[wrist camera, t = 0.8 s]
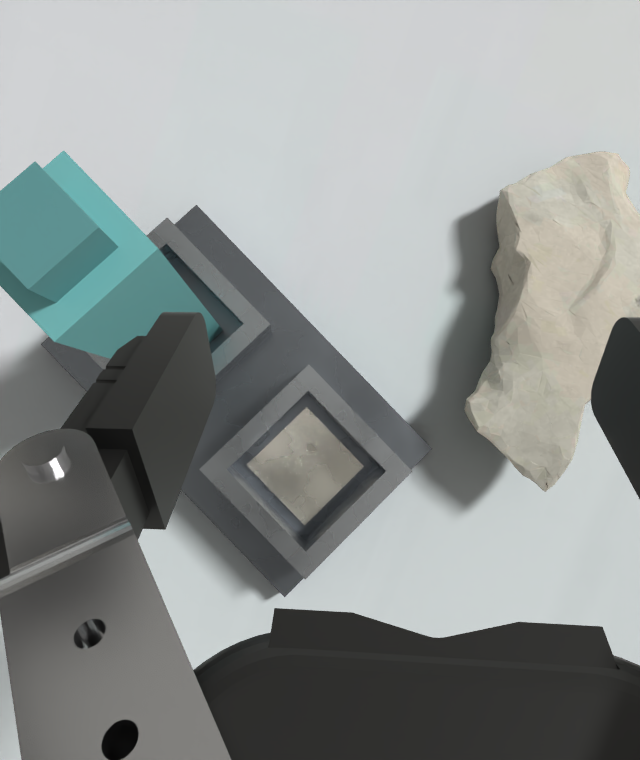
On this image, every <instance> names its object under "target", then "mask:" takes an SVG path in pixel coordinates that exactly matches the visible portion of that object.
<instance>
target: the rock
mask: <svg viewBox="0 0 640 760" xmlns="http://www.w3.org/2000/svg"><path fill="white" fill-rule="evenodd" d="M629 176H630V170H629V167H628V166H627V165H626V164H625V163H624V162H623V161H622V160H621V158H620V156H619V154H617V153H610V152H594V153H588V154H582V155H577V156H571V157H567V158H565V159H563V160H561V161H559V162H558V163H556V164H555V165H553V166H552V167H550V168H547V169H544V170H541V171H538V172H535V173H533V174H530V175H528V176H527V177H525V178H524V179H522V180H520V181H519V182H517V183H515V184H511V185H508V186H506V187H505V188H503V189H502V190H500V195H499V201H498V206H497V212H496V223H497V233H498V240H499V248H498V250H497V252H496V254H495V256H494V258H493V261H492V265H491V270H492V272H493V274H494V276H495V278H496V281H497V286H498V290H499V301H498V308H497V312H496V315H495V329H494V333H493V335H492V337H491V351H492V352H491V359H490V362H489V363H488V365H487V366H486V368H485V369H484V371H483V372H482V374H481V377H480V379H479V382H478V384H477V387H476V389H475V391H474V392H473V393H472V394H471V395H470V396H469V397H468V398H467V399H466V404H465V413H466V415H467V417H468V419H469V420H470V422H471V423H472V425H473V426H474V428H475V429H476V431H477V432H478V433H480V434H481V435H483V436H484V437H485V438H487V439H488V440H489V441H490V442H491V443H492V444H493V445H494V446H495V447H496V448H497V449H499V450H500V451H501V452H502V453H503V454H504V455H505V456H506V457H507V458H508V459H509V460H510V461H511V462H512V464H513V465H514V467H515V468H516V469H517V470H518V471H519V472H520V473H521V474H522V475H523V476H525V477H527V478H529V479H531V480H532V481H533V482H535V483H536V484H537V485H538V486H539V487H540V488H541V489H542V490H543V491H545V492H546V491H547V490H548V489H549V488H551V487H552V486H553V485H554V484H555V483H556V482H557V480H558V479H559V478H560V477H561V475H562V474H563V473H564V471H565V470H566V468H567V467H568V465H569V463H570V462H571V461H572V458H573V455H574V452H575V448H576V445H577V442H578V437H579V431H580V426H581V420H582V416H583V411H584V406H585V404H586V403H588V402H589V401H590V400H591V389H592V385H593V381H594V378H595V376H596V373H597V370H598V367H599V364H600V361H601V358H602V356H603V353H604V350H605V347H606V344H607V341H608V339H609V336H610V333H611V330H612V328H613V326H614V324H615V323H616V321H617V320H618V319H620V318H622V317H640V214H639V213H638V212H637V211H636V209H635V208H634V206H633V204H632V203H631V201H630V199H629V198H628V196H627V195H626V189H627V186H628V181H629ZM583 298H584V299H583Z"/></svg>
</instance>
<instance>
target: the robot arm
mask: <svg viewBox="0 0 640 760" xmlns="http://www.w3.org/2000/svg"><path fill="white" fill-rule="evenodd" d="M215 394H216V377H215V371H214V366H213V360H212V355H211V350H210V344H209V339H208V334H207V328H206V323H205V320H204V317H203V315H202V314H201V313H200V312H163V313H161V314H160V316H159V317H158V319H157V320H156V322H155V323H154V325H153V326H152V328H151V329H150V331H149V332H148V334H147V335H146V336H136V337H135V338H133V339H132V340H131V341H129V342H128V343H126V344H125V345H123V346H122V347H120V348H119V349H118V350H117V351H116V352H115V354H114V355H113V356H112V358H111V359H110V361H109V362H108V363H107V365H106V369H103V370H102V372H101V373H100V375H99V376H98V377H97V379H96V383H93V384H92V386H91V387H90V388H89V390H88V391H87V393H86V394H85V395H84V397H83V398H82V400H81V401H80V402H79V404H78V405H77V407H76V408H75V409H74V411H73V412H72V413H71V415H70V416H69V418H68V419H67V420H66V422H65V423H64V425H63V426H62V427H61V429H56V430H51V431H46V432H43V433H40V434H37V435H35V436H32V437H30V438H28V439H26V440H24V441H22V442H21V443H19V444H18V445H16V446H15V447H13V448H12V449H11V450H10V451H8V452H7V453H6V454H5V455H4V456H3V458H2V459H1V460H0V614H1V621H2V628H3V635H4V642H5V649H6V656H7V662H8V669H9V676H10V683H11V690H12V697H13V704H14V711H15V717H16V724H17V731H18V738H19V745H20V752H21V759H22V760H640V666H639V665H637V664H635V663H632V662H630V661H627V660H625V659H623V658H620V657H617V656H614V655H613V654H612V651H611V649H610V646H609V643H608V641H607V638H606V635H605V633H604V630H603V627H599V626H581V625H563V624H545V623H527V622H516V623H512V624H507V625H502V626H497V627H493V628H488V629H483V630H478V631H473V632H469V633H464V634H459V635H454V636H450V637H444V638H433V637H428V636H425V635H422V634H418V633H415V632H412V631H409V630H406V629H402V628H399V627H396V626H393V625H390V624H387V623H383V622H380V621H377V620H374V619H371V618H367V617H364V616H361V615H358V614H355V613H349V612H331V611H313V610H295V609H277V608H275V609H274V616H273V622H272V629H271V633H267V634H263V635H258V636H255V637H252V638H250V639H247V640H244V641H241V642H239V643H236V644H234V645H232V646H230V647H228V648H226V649H224V650H222V651H220V652H219V653H217V654H216V655H214V656H212V657H211V658H209V659H208V660H206V661H205V662H203V663H202V664H201V665H199V666H198V667H197V668H196V669H194V670H193V669H192V667H191V664H190V662H189V660H188V657H187V655H186V653H185V650H184V648H183V646H182V643H181V641H180V639H179V636H178V634H177V631H176V629H175V627H174V624H173V622H172V620H171V617H170V615H169V613H168V610H167V608H166V606H165V603H164V601H163V599H162V596H161V594H160V592H159V589H158V587H157V585H156V582H155V580H154V578H153V575H152V573H151V571H150V568H149V566H148V564H147V561H146V559H145V557H144V554H143V552H142V550H141V547H140V545H139V543H138V538H139V536H140V534H141V531H142V529H166V527H167V524H168V522H169V519H170V516H171V514H172V511H173V509H174V506H175V503H176V501H177V498H178V496H179V493H180V490H181V488H182V485H183V483H184V480H185V477H186V475H187V472H188V470H189V467H190V464H191V462H192V459H193V457H194V454H195V451H196V449H197V446H198V444H199V441H200V438H201V436H202V433H203V431H204V428H205V425H206V423H207V420H208V417H209V415H210V412H211V410H212V407H213V404H214V400H215ZM591 405H592V410H593V413H594V415H595V417H596V419H597V421H598V423H599V425H600V427H601V428H602V430H603V432H604V434H605V436H606V438H607V440H608V441H609V443H610V445H611V447H612V449H613V451H614V452H615V454H616V456H617V458H618V460H619V462H620V464H621V465H622V467H623V469H624V471H625V473H626V475H627V476H628V478H629V480H630V482H631V484H632V486H633V488H634V489H635V491H636V493H637V495H638V497H639V499H640V317H622V318H620V319H618V320H617V321H616V323H615V324H614V326H613V328H612V330H611V333H610V336H609V339H608V341H607V344H606V347H605V350H604V353H603V356H602V358H601V361H600V364H599V367H598V370H597V373H596V376H595V378H594V381H593V385H592V389H591Z"/></svg>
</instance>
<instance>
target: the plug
mask: <svg viewBox="0 0 640 760" xmlns="http://www.w3.org/2000/svg"><path fill="white" fill-rule="evenodd" d="M0 286H1V287H2V288H3V289H4V290H5V291H6V292H7V293H8V294H9V295H10V296H11V297H12V298H13V299H14V300H15V302H16V303H17V304H18V305H19V306H20V307H21V308H22V309H23V310H24V311H25V312H26V313H27V314H28V315H29V316H30V317H31V318H32V319H33V320H34V321H35V322H36V323H37V324H38V325H39V326H40V327H41V329H42V330H43V331H44V332H45V333H46V334H47V335H48V336H49V337H50V338H51V339H52V340H53V341H54V342H57V343H60V344H63V345H66V346H70V347H73V348H76V349H80V350H83V351H86V352H89V353H93V354H96V355H99V356H103V357H106V358H109V359H111V358H112V356H113V355H114V354H115V352H116V351H117V350H118V349H119V348H120V347H122V346H123V345H125V344H126V343H128V342H129V341H131V340H132V339H133V338H135V337H136V336H146V335H147V334H148V332H149V331H150V329H151V328H152V326H153V325H154V323H155V322H156V320H157V319H158V317H159V316H160V314H161V313H163V312H200V313H201V314H202V315H203V317H204V320H205V323H206V328H207V334H208V339H209V343H210V342H211V341H212V340H213V339H214V338H215V337H216V336H218V335H219V334H220V333H221V332H222V331H223V330H222V328H221V327H220V326H219V324H218V323H217V322H216V321H215V319H214V318H213V317H212V316H211V314H210V313H209V312H208V311H207V309H206V308H205V307H204V306H203V304H202V303H201V302H200V300H199V299H198V298H197V297H196V295H195V294H194V293H193V292H192V290H191V289H190V288H189V287H188V285H187V284H186V283H185V282H184V280H183V279H182V278H181V277H180V275H179V274H178V273H177V271H176V270H175V269H174V268H173V266H172V265H171V264H170V263H169V261H168V260H167V259H166V258H165V256H164V255H163V254H162V253H161V251H160V250H159V249H158V248H157V247H156V246H155V245H154V243H153V242H152V241H151V240H150V239H149V238H148V237H147V236H146V235H145V234H144V233H143V232H142V231H141V230H140V229H139V228H138V227H137V226H136V225H135V224H134V223H133V222H132V221H131V220H130V219H129V218H128V217H127V216H126V214H125V213H124V212H123V211H122V210H121V209H120V208H119V207H118V206H117V205H116V204H115V203H114V202H113V201H112V200H111V199H110V198H109V197H108V196H107V195H106V194H105V193H104V192H103V191H102V190H101V189H100V188H99V187H98V185H97V184H96V183H95V182H94V181H93V180H92V179H91V178H90V177H89V176H88V175H87V174H86V173H85V172H84V171H83V170H82V169H81V168H80V167H79V166H78V165H77V164H76V163H75V162H74V161H73V160H72V159H71V158H70V156H69V155H68V154H67V153H66V152H65V151H63V152H61V153H60V154H59V155H58V156H57V157H56V158H54V159H53V160H52V161H51V162H50V163H49V164H47V165H46V166H45V167H44V168H43V169H42V168H41V167H40V166H39V165H38V164H37V163H36V162H34V163H33V164H31V165H30V166H29V167H28V168H27V169H26V170H24V171H23V172H22V173H21V174H20V175H19V176H17V177H16V178H15V179H14V180H13V181H11V182H10V183H9V184H8V185H7V186H6V187H4V188H3V189H2V190H1V191H0Z"/></svg>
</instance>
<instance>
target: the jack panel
mask: <svg viewBox="0 0 640 760" xmlns="http://www.w3.org/2000/svg"><path fill="white" fill-rule="evenodd" d="M147 237H148V238H149V239H150V240H151V241H152V242H153V243H154V245H155V246H156V247H157V248H158V249H159V250H160V251H161V253H162V254H163V255H164V256H165V258H166V259H167V260H168V261H169V263H170V264H171V265H172V266H173V268H174V269H175V270H176V271H177V273H178V274H179V275H180V277H181V278H182V279H183V280H184V282H185V283H186V284H187V285H188V287H189V288H190V289H191V290H192V292H193V293H194V294H195V295H196V297H197V298H198V299H199V300H200V302H201V303H202V304H203V306H204V307H205V308H206V309H207V311H208V312H209V313H210V314H211V316H212V317H213V318H214V319H215V321H216V322H217V323H218V324H219V326H220V327H221V328H222V330H223V331H222V332H221V333H220V334H219V335H218V336H216V337H215V338H214V339H213V340H212V341H211V342H210V343H209V344H210V350H211V355H212V360H213V366H214V371H215V377H216V394H215V400H214V404H213V407H212V410H211V412H210V415H209V417H208V420H207V423H206V425H205V428H204V431H203V433H202V436H201V438H200V441H199V444H198V446H197V449H196V451H195V454H194V457H193V459H192V462H191V464H190V467H189V470H188V472H187V475H186V477H185V480H184V483H183V485H182V488H181V490H182V491H183V492H184V493H185V494H186V495H187V496H188V497H189V498H190V499H191V500H192V501H193V502H194V503H195V504H196V506H197V507H198V508H199V509H200V510H201V511H202V512H203V513H204V514H205V515H206V516H207V517H208V518H209V519H210V520H211V521H212V522H213V523H214V524H215V525H216V526H217V527H218V528H219V529H220V530H221V531H222V533H223V534H224V535H225V536H226V537H227V538H228V539H229V540H230V541H231V542H232V543H233V544H234V545H235V546H236V547H237V548H238V549H239V550H240V551H241V552H242V553H243V554H244V555H245V556H246V557H247V558H248V560H249V561H250V562H251V563H252V564H253V565H254V566H255V567H256V568H257V569H258V570H259V571H260V572H261V573H262V574H263V575H264V576H265V577H266V578H267V579H268V580H269V581H270V582H271V583H272V584H273V585H274V587H275V588H276V589H277V590H278V591H279V592H280V593H281V594H282V595H283V596H284V597H285V596H286V595H287V594H288V593H289V592H290V591H291V590H292V589H293V588H294V587H295V586H296V585H297V584H298V583H299V582H300V581H301V580H302V579H303V578H304V579H306V578H307V577H308V576H309V575H310V574H311V573H312V572H313V571H314V570H315V569H316V568H317V567H318V566H319V565H320V564H321V563H322V562H323V561H324V560H325V559H326V558H327V557H328V556H329V555H330V554H331V553H332V552H333V551H334V550H335V549H336V548H337V547H338V546H339V545H340V544H341V543H342V542H343V541H344V540H345V539H346V538H347V537H348V536H349V535H350V534H351V533H352V532H353V531H354V530H355V529H356V528H357V527H358V526H359V525H360V524H361V523H362V522H363V521H364V520H365V519H366V518H367V517H368V516H369V515H370V514H371V513H372V512H373V510H374V509H375V508H376V507H377V506H378V505H379V504H380V503H381V502H382V501H383V500H384V499H385V498H386V497H387V496H388V495H389V494H390V493H391V492H392V491H393V490H394V489H395V488H396V487H397V486H398V485H399V484H400V483H401V482H402V481H403V480H404V479H405V478H406V477H407V476H408V475H409V474H410V473H411V472H412V470H411V469H412V468H413V467H414V466H415V465H416V464H417V463H418V462H419V461H420V460H421V459H422V458H423V457H424V456H425V455H426V454H427V453H428V452H429V451H430V450H431V449H432V448H431V447H430V446H429V445H428V444H427V443H426V442H425V441H424V440H423V439H422V438H421V437H420V436H419V435H418V434H417V433H416V432H415V431H414V430H413V429H412V428H411V427H410V425H409V424H408V423H407V422H406V421H405V420H404V419H403V418H402V417H401V416H400V415H399V414H398V413H397V412H396V411H395V410H394V409H393V408H392V407H391V406H390V405H389V404H388V403H387V402H386V401H385V400H384V399H383V398H382V396H381V395H380V394H379V393H378V392H377V391H376V390H375V389H374V388H373V387H372V386H371V385H370V384H369V383H368V382H367V381H366V380H365V379H364V378H363V377H362V376H361V375H360V374H359V373H358V372H357V371H356V370H355V369H354V368H353V366H352V365H351V364H350V363H349V362H348V361H347V360H346V359H345V358H344V357H343V356H342V355H341V354H340V353H339V352H338V351H337V350H336V349H335V348H334V347H333V346H332V345H331V344H330V343H329V342H328V341H327V340H326V339H325V338H324V336H323V335H322V334H321V333H320V332H319V331H318V330H317V329H316V328H315V327H314V326H313V325H312V324H311V323H310V322H309V321H308V320H307V319H306V318H305V317H304V316H303V315H302V314H301V313H300V312H299V311H298V310H297V309H296V307H295V306H294V305H293V304H292V303H291V302H290V301H289V300H288V299H287V298H286V297H285V296H284V295H283V294H282V293H281V292H280V291H279V290H278V289H277V288H276V287H275V286H274V285H273V284H272V283H271V282H270V281H269V280H268V279H267V277H266V276H265V275H264V274H263V273H262V272H261V271H260V270H259V269H258V268H257V267H256V266H255V265H254V264H253V263H252V262H251V261H250V260H249V259H248V258H247V257H246V256H245V255H244V254H243V253H242V252H241V251H240V250H239V249H238V247H237V246H236V245H235V244H234V243H233V242H232V241H231V240H230V239H229V238H228V237H227V236H226V235H225V234H224V233H223V232H222V231H221V230H220V229H219V228H218V227H217V226H216V225H215V224H214V223H213V222H212V221H211V220H210V218H209V217H208V216H207V215H206V214H205V213H204V212H203V211H202V210H201V209H200V208H199V207H198V206H197V205H196V206H195V207H194V208H192V209H191V210H190V211H189V212H188V213H187V214H186V215H185V216H184V217H182V218H181V219H180V220H179V221H178V222H177V223H176V224H175V225H174V224H173V223H172V222H171V221H170V220H169V219H168V218H166V219H165V220H164V221H163V222H162V223H160V224H159V225H158V226H157V227H156V228H155V229H154V230H153V231H151V232H150V233H149V234H148V235H147ZM41 345H42V346H43V347H44V348H45V349H46V350H47V351H48V352H49V353H50V354H51V355H52V356H53V357H54V358H55V359H56V360H57V361H58V362H59V363H60V364H61V365H62V366H63V367H64V368H65V370H66V371H67V372H68V373H69V374H70V375H71V376H72V377H73V378H74V379H75V380H76V381H77V382H78V383H79V384H80V385H81V386H82V387H83V388H84V389H85V390H86V391H88V390H89V388H90V387H91V386H92V384H93V383H96V379H97V377H98V376H99V375H100V373H101V372H102V370H103V369H106V365H107V363H108V362H109V361H110V359H109V358H106V357H103V356H99V355H96V354H93V353H89V352H86V351H83V350H80V349H76V348H73V347H70V346H66V345H63V344H60V343H57V342H54V341H53V340H52V339H51V338H50V337H49V338H47V339H46V340H45V341H44V342H43V343H42V344H41Z"/></svg>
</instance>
